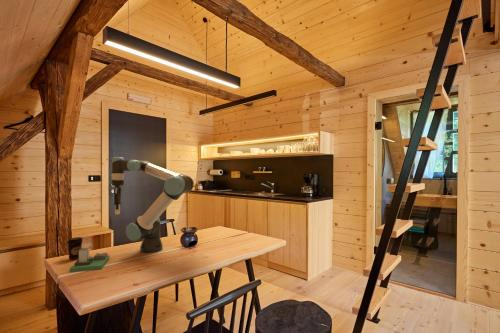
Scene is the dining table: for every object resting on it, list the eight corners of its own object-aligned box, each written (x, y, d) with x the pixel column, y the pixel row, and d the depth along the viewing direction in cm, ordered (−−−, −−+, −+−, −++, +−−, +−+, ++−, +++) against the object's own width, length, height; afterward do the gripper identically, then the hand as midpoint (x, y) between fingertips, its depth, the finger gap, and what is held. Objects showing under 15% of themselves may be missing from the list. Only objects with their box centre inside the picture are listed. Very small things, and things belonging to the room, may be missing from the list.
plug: (89, 261, 158) (89, 247, 158) (87, 264, 154) (87, 249, 155) (81, 262, 157) (81, 248, 157) (78, 264, 153) (78, 250, 154)
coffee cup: (86, 257, 172) (86, 237, 172) (74, 261, 164) (74, 240, 164) (75, 256, 175) (75, 236, 175) (63, 260, 167) (63, 239, 167)
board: (109, 259, 169) (109, 251, 169) (101, 269, 152) (101, 260, 152) (80, 261, 165) (80, 253, 165) (69, 271, 148) (69, 262, 148)
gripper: (113, 179, 189) (113, 212, 188) (109, 180, 176) (109, 215, 176) (125, 179, 191) (125, 212, 190) (121, 179, 178) (121, 215, 178)
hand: (117, 214), depth 183 cm, fingers closed
